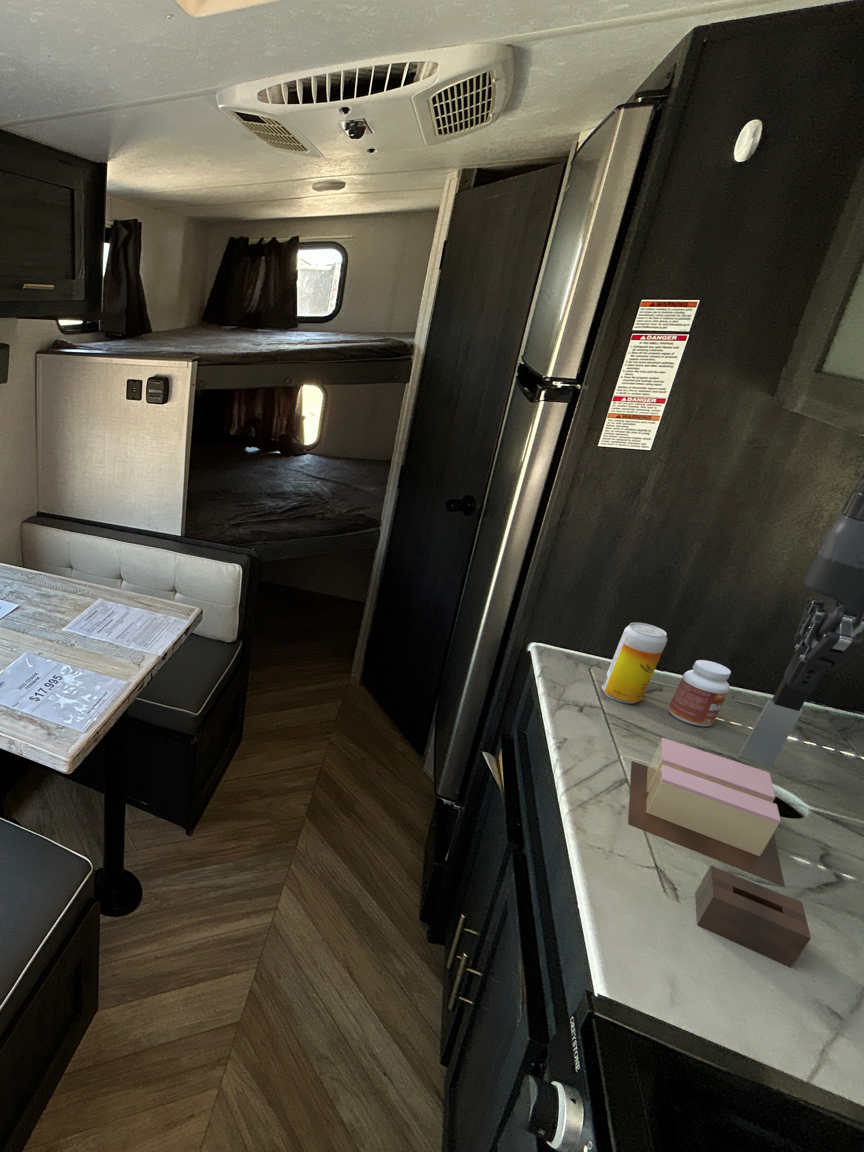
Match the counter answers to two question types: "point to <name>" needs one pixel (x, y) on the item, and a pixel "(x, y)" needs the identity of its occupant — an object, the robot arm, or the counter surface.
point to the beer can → (634, 662)
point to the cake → (710, 769)
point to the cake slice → (713, 810)
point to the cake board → (698, 835)
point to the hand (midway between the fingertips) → (797, 684)
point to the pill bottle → (701, 693)
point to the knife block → (752, 916)
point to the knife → (775, 721)
